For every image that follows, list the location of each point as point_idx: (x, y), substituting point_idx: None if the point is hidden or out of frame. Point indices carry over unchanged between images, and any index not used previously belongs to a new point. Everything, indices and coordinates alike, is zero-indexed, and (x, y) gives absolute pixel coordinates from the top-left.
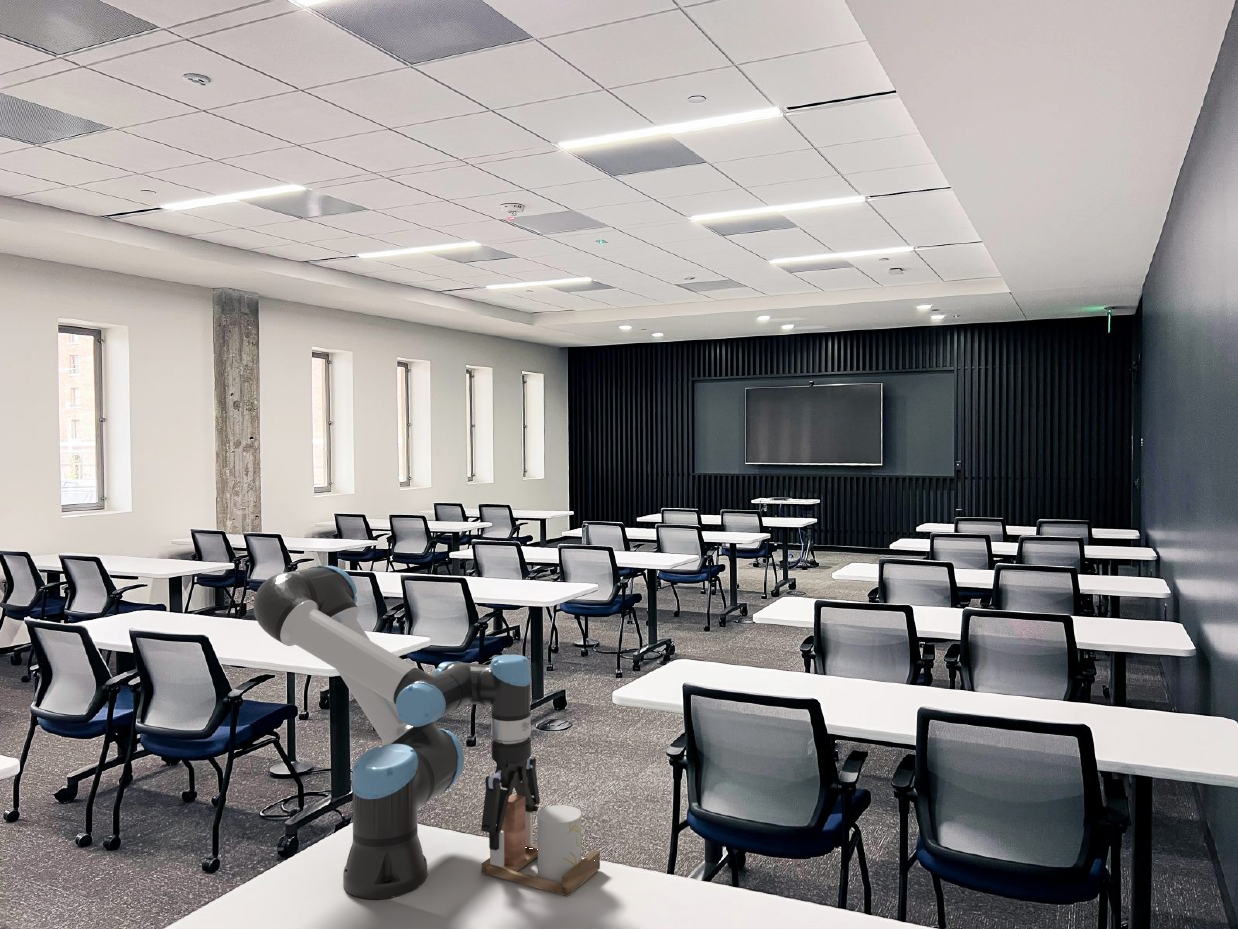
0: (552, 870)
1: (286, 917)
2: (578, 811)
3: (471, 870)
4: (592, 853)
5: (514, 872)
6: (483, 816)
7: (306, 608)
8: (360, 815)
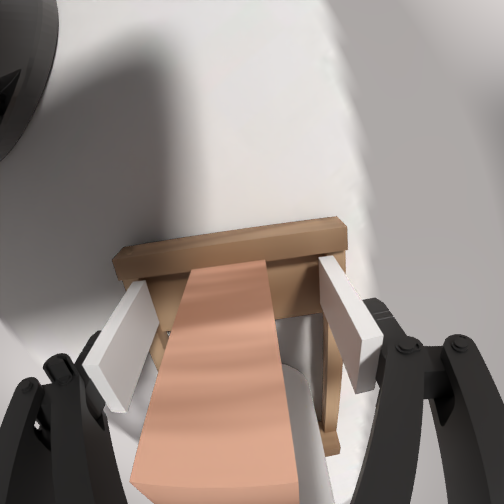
0: None
1: None
2: None
3: (125, 193)
4: (324, 452)
5: (159, 360)
6: (3, 430)
7: None
8: None
